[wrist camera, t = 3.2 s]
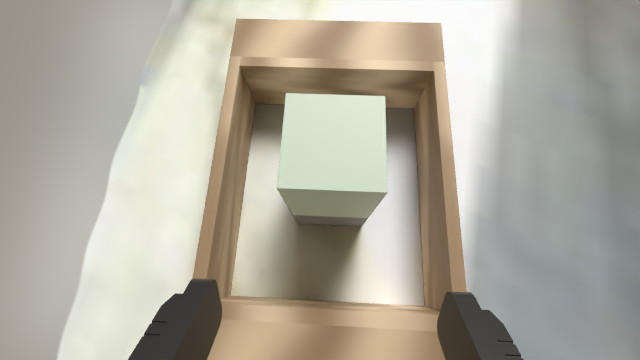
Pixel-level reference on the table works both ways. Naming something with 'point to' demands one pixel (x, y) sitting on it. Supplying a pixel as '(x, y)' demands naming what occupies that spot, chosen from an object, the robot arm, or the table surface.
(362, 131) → the box
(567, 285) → the table surface
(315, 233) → the table surface
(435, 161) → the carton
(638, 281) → the table surface
